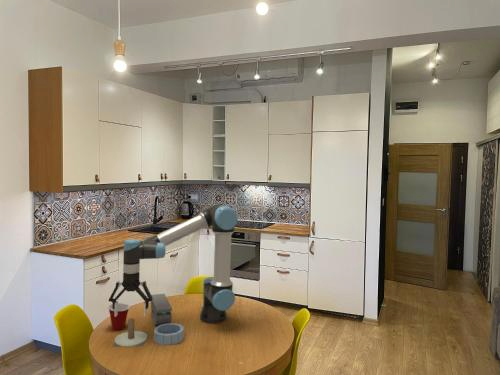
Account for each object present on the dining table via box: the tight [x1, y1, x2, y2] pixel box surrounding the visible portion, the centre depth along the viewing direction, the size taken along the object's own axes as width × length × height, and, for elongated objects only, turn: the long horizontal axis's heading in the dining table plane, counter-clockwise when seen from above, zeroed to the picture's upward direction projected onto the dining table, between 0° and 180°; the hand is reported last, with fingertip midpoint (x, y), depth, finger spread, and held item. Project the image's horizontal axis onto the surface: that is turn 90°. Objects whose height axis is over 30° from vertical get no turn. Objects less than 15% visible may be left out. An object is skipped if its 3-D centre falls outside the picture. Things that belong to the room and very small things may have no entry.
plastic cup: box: [107, 302, 131, 331], centre depth 191 cm, size 11×11×12 cm
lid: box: [114, 317, 148, 348], centre depth 178 cm, size 15×15×10 cm
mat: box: [112, 332, 149, 348], centre depth 179 cm, size 14×14×1 cm
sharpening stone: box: [150, 293, 173, 326], centre depth 202 cm, size 25×8×11 cm, turn 22°
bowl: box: [153, 322, 185, 346], centre depth 180 cm, size 14×14×5 cm
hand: (130, 315), depth 178 cm, fingers open, 13 cm apart
